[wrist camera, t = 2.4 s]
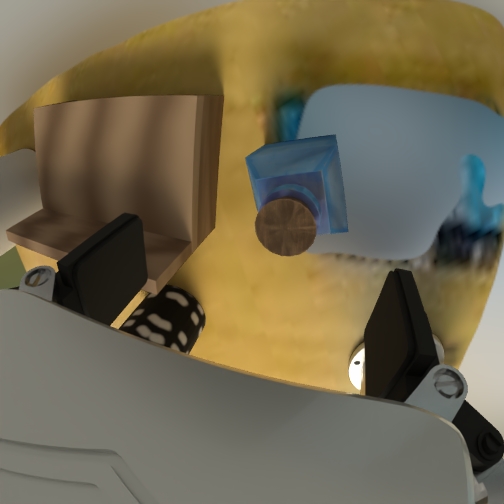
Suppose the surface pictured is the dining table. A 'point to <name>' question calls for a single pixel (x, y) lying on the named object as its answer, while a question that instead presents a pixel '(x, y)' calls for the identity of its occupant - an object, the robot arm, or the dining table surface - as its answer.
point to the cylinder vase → (17, 191)
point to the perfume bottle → (297, 193)
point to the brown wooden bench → (127, 175)
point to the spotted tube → (167, 319)
